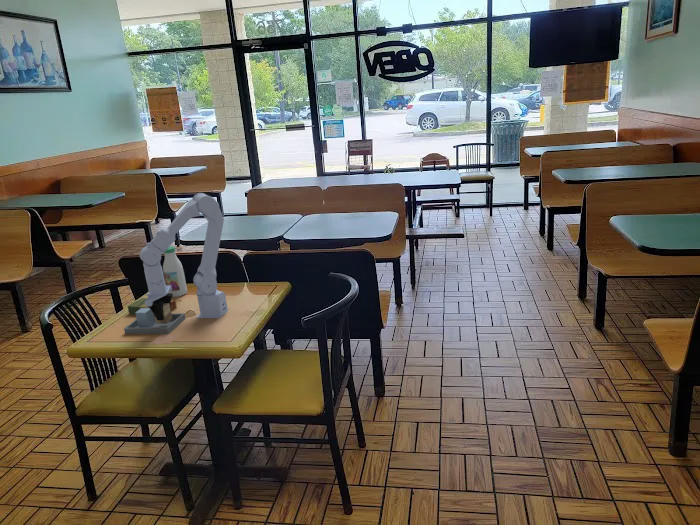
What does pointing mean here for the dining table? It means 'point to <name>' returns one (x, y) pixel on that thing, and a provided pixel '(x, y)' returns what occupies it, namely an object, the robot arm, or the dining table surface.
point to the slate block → (145, 318)
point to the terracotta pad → (165, 338)
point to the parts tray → (156, 326)
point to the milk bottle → (174, 273)
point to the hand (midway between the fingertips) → (163, 317)
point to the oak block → (165, 314)
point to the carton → (141, 304)
